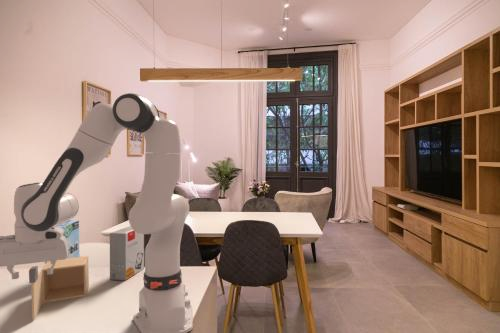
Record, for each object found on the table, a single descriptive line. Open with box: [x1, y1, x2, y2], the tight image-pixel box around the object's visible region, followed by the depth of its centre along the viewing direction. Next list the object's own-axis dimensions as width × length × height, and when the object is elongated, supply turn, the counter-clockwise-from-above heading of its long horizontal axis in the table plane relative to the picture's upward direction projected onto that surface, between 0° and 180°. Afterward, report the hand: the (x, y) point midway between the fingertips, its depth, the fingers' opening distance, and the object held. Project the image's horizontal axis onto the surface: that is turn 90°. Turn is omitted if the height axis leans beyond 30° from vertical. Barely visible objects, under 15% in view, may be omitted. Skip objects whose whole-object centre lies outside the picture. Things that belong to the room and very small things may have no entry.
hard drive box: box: [109, 225, 145, 281], centre depth 143 cm, size 16×8×20 cm, turn 168°
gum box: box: [44, 219, 80, 265], centre depth 141 cm, size 19×5×23 cm, turn 2°
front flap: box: [28, 265, 44, 320], centre depth 108 cm, size 2×13×16 cm, turn 23°
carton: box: [41, 255, 90, 304], centre depth 123 cm, size 11×14×12 cm
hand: (33, 276), depth 104 cm, fingers open, 8 cm apart
